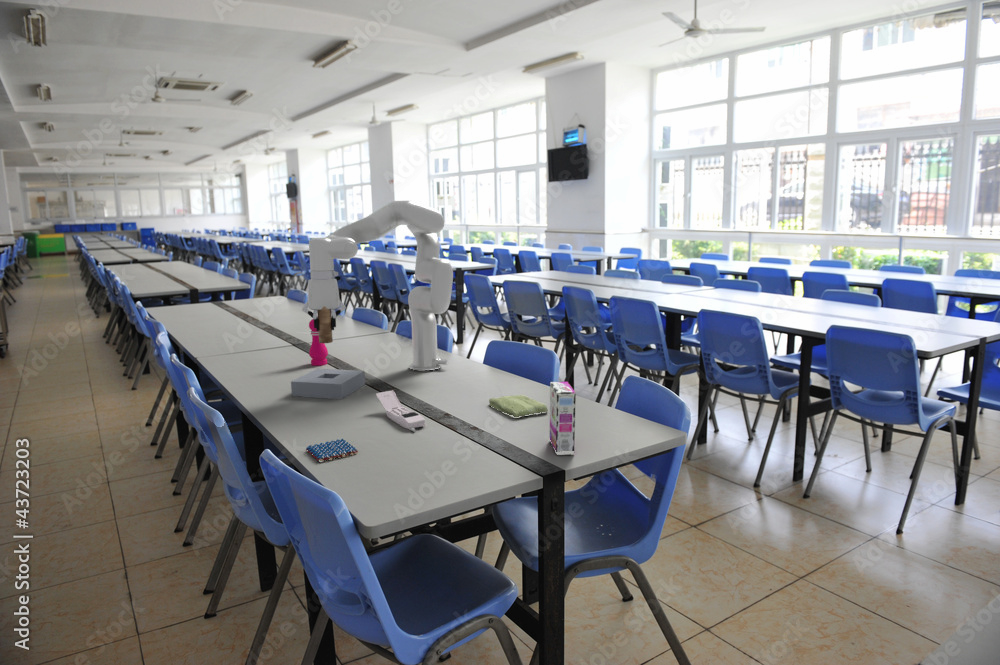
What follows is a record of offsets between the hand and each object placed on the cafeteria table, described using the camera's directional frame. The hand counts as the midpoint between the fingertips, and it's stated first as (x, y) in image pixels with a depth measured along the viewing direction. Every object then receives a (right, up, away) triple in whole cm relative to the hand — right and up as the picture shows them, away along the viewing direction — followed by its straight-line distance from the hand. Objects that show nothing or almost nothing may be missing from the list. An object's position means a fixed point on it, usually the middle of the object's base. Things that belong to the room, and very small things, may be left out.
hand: (325, 329), depth 220 cm
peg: (0, -4, +1) cm, 4 cm away
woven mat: (+16, -32, -52) cm, 64 cm away
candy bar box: (+75, -31, -51) cm, 96 cm away
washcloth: (+64, -25, -18) cm, 71 cm away
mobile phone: (+30, -27, -27) cm, 48 cm away
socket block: (0, -21, +4) cm, 21 cm away
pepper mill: (-14, -14, +42) cm, 46 cm away
